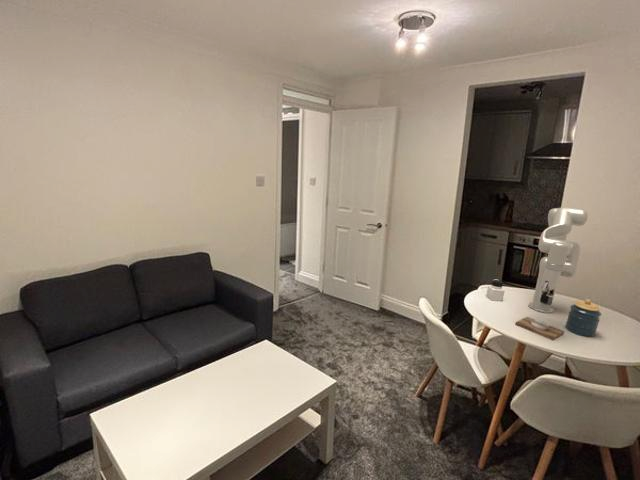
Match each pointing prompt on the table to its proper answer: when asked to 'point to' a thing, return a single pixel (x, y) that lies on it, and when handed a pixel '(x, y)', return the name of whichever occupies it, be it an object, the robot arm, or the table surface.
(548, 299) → the camera lens
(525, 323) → the board
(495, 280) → the medicine bottle
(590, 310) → the canister
